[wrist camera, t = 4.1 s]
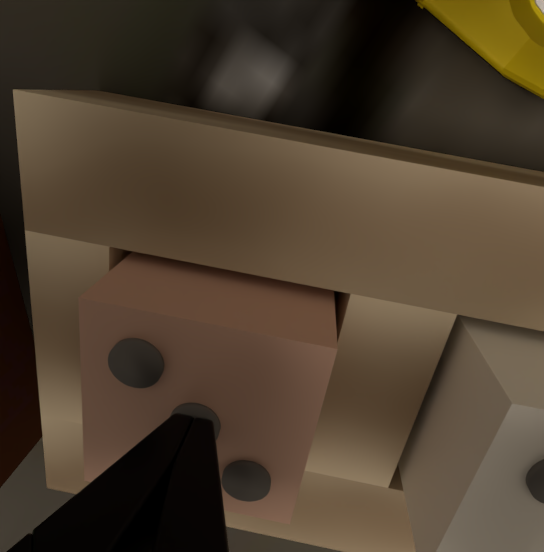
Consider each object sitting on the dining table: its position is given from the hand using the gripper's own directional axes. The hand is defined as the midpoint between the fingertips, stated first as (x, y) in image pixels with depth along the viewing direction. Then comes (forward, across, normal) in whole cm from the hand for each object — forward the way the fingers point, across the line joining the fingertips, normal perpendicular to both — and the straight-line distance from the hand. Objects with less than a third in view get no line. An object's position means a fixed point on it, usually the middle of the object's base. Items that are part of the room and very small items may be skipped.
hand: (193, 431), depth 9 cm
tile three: (+4, 0, 0) cm, 4 cm away
